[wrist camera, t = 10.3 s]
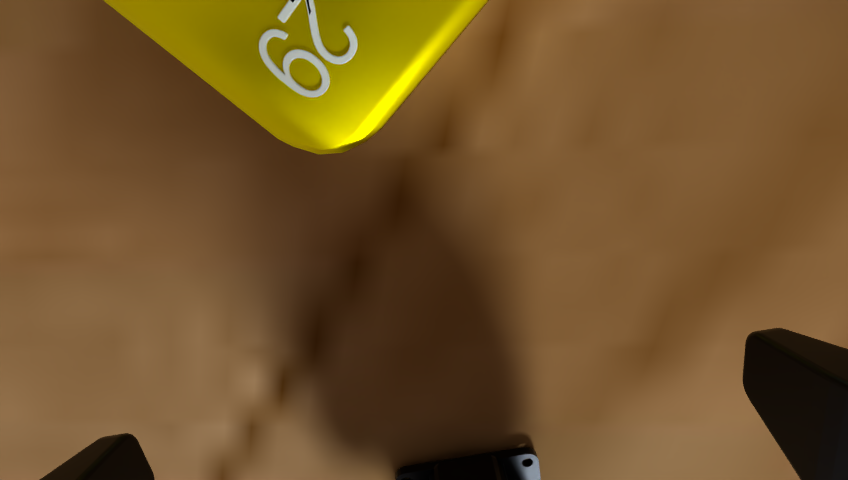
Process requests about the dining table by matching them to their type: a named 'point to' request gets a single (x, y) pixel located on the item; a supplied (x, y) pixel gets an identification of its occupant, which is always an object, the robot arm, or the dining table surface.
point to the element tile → (308, 57)
